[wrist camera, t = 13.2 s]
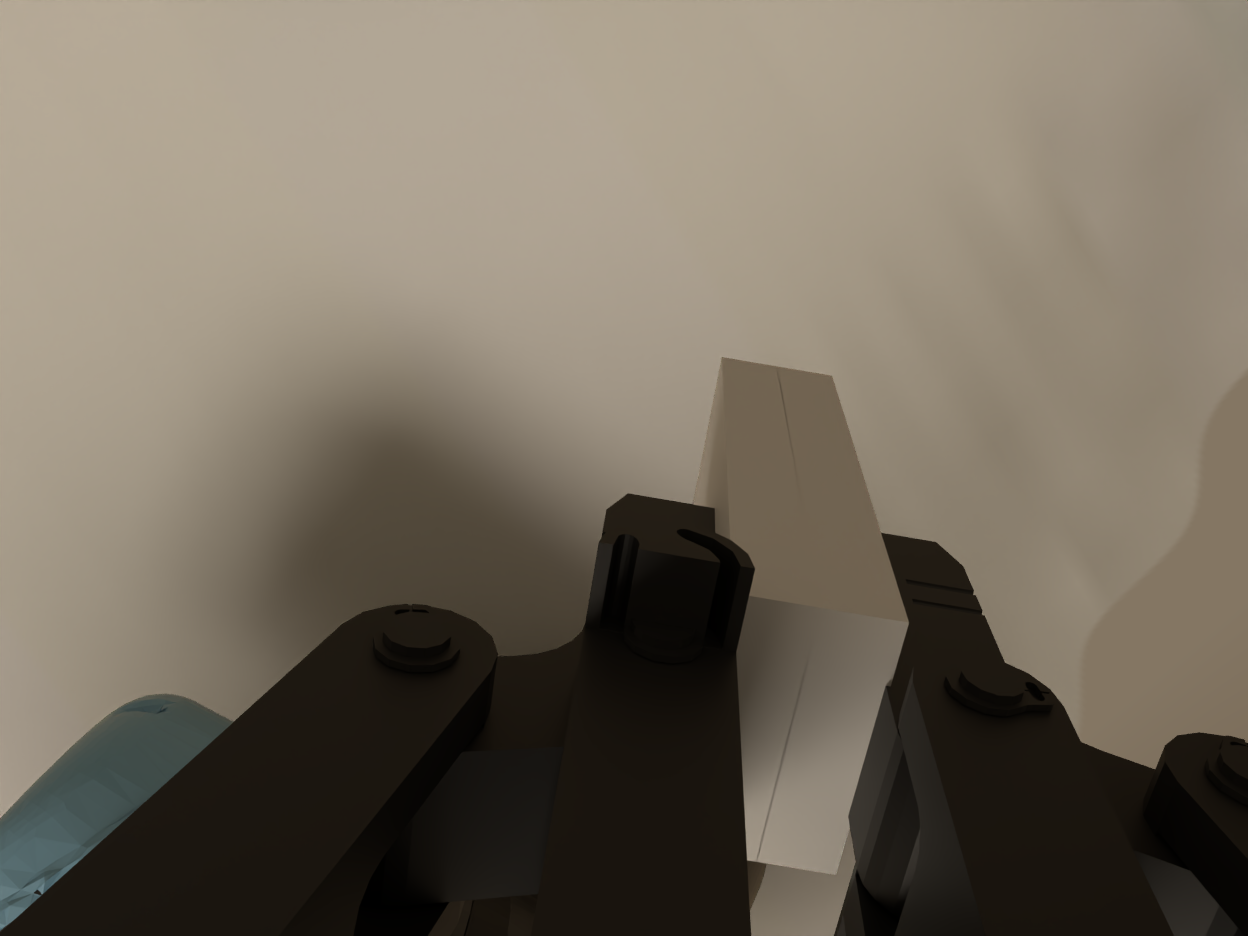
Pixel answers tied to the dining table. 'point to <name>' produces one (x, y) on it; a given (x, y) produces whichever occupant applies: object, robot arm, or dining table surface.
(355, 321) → the dining table surface
